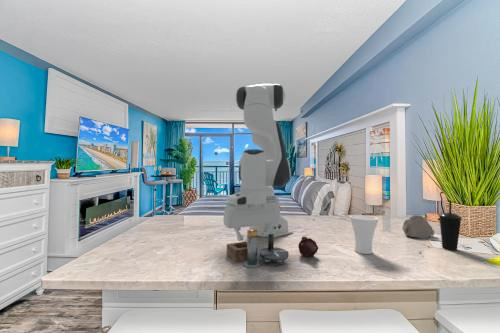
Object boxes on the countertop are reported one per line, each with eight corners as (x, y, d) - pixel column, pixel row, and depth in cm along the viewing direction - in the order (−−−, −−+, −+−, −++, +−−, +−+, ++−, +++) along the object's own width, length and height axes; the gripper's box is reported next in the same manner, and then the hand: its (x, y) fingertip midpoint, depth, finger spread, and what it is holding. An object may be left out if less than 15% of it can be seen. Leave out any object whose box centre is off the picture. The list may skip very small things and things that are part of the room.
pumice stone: (409, 238, 123) (409, 217, 123) (398, 234, 130) (399, 214, 130) (439, 238, 124) (439, 217, 124) (426, 234, 132) (426, 214, 132)
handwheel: (292, 259, 86) (293, 241, 86) (263, 261, 84) (263, 242, 84) (282, 250, 96) (283, 233, 96) (256, 251, 94) (256, 234, 94)
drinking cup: (458, 247, 110) (459, 200, 110) (464, 253, 103) (464, 202, 103) (436, 245, 113) (437, 198, 113) (440, 250, 106) (441, 200, 106)
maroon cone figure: (326, 244, 90) (313, 236, 105) (306, 239, 89) (295, 232, 104) (322, 265, 89) (309, 254, 104) (301, 259, 89) (291, 249, 103)
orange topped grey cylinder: (254, 260, 90) (254, 228, 90) (259, 264, 87) (259, 231, 87) (245, 262, 88) (245, 230, 88) (250, 265, 85) (250, 232, 85)
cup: (355, 245, 110) (356, 213, 110) (382, 251, 103) (382, 217, 103) (344, 251, 103) (345, 217, 103) (372, 258, 95) (372, 221, 95)
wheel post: (276, 257, 94) (276, 253, 94) (286, 263, 89) (286, 259, 89) (261, 260, 92) (262, 256, 92) (271, 266, 86) (271, 262, 86)
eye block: (246, 251, 100) (246, 241, 100) (256, 258, 93) (256, 247, 93) (226, 254, 97) (226, 244, 97) (235, 262, 90) (235, 250, 90)
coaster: (255, 260, 91) (255, 259, 91) (263, 266, 86) (263, 264, 86) (241, 263, 89) (241, 261, 89) (248, 268, 84) (248, 267, 84)
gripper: (274, 194, 95) (273, 232, 95) (221, 197, 86) (221, 239, 86) (284, 196, 90) (283, 237, 90) (229, 200, 80) (229, 245, 80)
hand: (252, 238), depth 88 cm, fingers open, 8 cm apart
